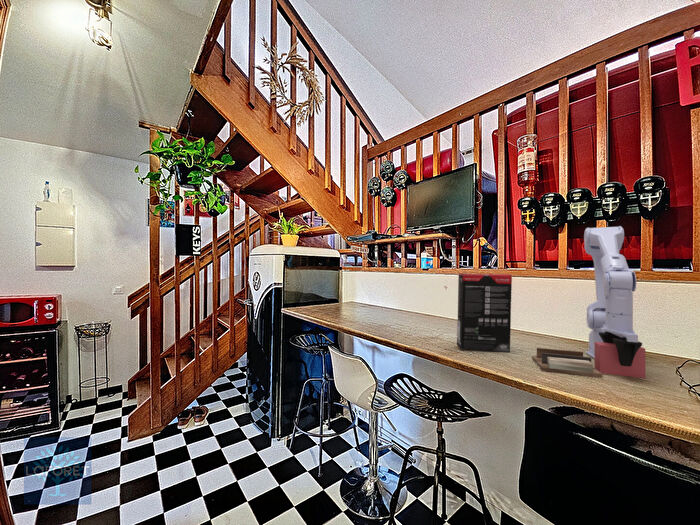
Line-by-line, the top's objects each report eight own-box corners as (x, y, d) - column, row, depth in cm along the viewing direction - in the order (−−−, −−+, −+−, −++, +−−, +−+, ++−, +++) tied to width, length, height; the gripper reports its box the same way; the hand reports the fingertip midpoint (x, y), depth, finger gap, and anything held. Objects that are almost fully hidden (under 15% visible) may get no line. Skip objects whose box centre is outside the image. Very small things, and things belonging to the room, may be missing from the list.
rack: (532, 358, 95) (532, 346, 96) (584, 364, 91) (584, 351, 91) (542, 371, 84) (542, 357, 84) (602, 377, 79) (602, 363, 79)
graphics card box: (504, 347, 109) (504, 273, 109) (512, 353, 102) (512, 274, 102) (456, 346, 110) (456, 273, 110) (461, 351, 103) (461, 273, 104)
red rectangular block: (594, 369, 86) (594, 341, 86) (638, 373, 83) (637, 345, 83) (599, 373, 83) (599, 344, 83) (645, 378, 80) (645, 348, 80)
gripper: (590, 309, 91) (590, 353, 91) (614, 316, 78) (614, 368, 78) (619, 310, 89) (619, 355, 89) (648, 318, 75) (648, 371, 75)
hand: (618, 361), depth 83 cm, fingers open, 6 cm apart
